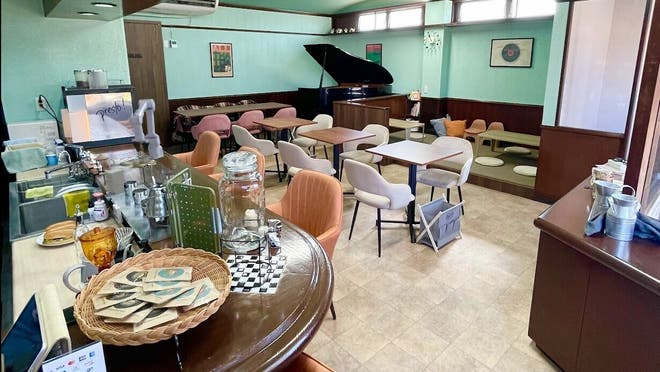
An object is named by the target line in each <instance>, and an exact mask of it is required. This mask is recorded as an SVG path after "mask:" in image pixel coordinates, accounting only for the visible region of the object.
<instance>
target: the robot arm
mask: <svg viewBox="0 0 660 372" xmlns="http://www.w3.org/2000/svg"><path fill="white" fill-rule="evenodd" d="M155 111H156V103H155V101H154V99H153V98H151V99H139V100H138V109H136V110H135V111H134V113H133V116H131V117H130V119H129V122H130V124H131V127H132V129H133V133H134V138H131V144H132V145H133V146H134V148H135V149H136V152H137V153H139V152H141V146H142V150H143V152H144V153H149V154H148V155H150V157H149V160H157V159H159V158H163V157H165V155H164V150H163V147H162V146H161V145H160V144H161V139H160V136H159V135H158V134H156V132H155V131H156V130H155V117H154V112H155ZM144 112H145V113H146V115H145V113H144ZM144 115H145V116H146V124H147V125H146V126H147V134H146V135H144V132H143V131H144V130H143V126H142V124H143V118H144Z"/></svg>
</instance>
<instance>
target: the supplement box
mask: <svg viewBox="0 0 660 372" xmlns="http://www.w3.org/2000/svg"><path fill="white" fill-rule="evenodd" d="M104 175H105V179H106V184H107V188H108V192H109V193H110V192H111V194H113V193H115V194H114V195H118V194H120V193H124V192H125V191H124V183H126V184H127V181H126V176H125V172H124V170H123V169H122V168H121V169H120V168H113V169H111V170H109V171H106V172H104ZM117 193H118V194H117Z"/></svg>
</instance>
